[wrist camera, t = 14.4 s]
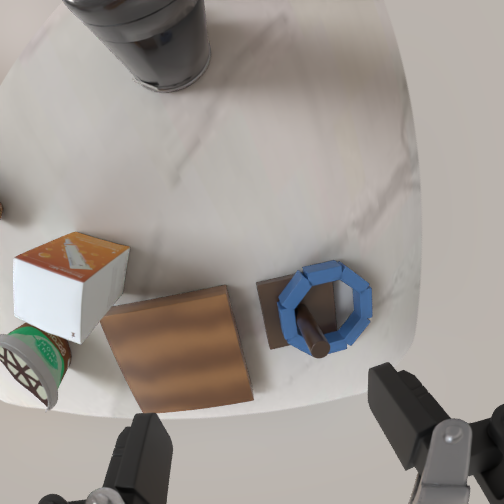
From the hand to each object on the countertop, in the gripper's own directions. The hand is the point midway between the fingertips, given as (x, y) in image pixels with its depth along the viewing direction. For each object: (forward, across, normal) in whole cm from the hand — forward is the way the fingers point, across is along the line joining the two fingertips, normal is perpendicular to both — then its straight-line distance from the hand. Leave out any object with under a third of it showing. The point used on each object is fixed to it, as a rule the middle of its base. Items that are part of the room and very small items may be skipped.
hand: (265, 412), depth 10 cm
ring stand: (+26, -6, +9) cm, 28 cm away
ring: (+25, -9, +9) cm, 28 cm away
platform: (+26, +10, +12) cm, 30 cm away
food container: (+26, +29, +7) cm, 40 cm away
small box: (+26, +17, -2) cm, 31 cm away
